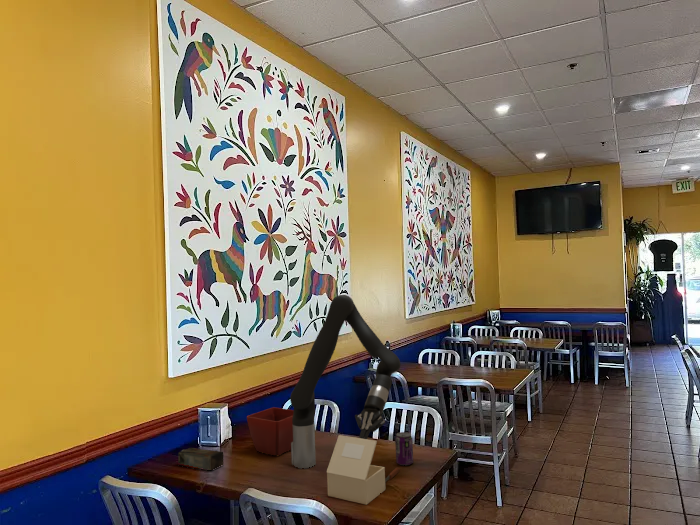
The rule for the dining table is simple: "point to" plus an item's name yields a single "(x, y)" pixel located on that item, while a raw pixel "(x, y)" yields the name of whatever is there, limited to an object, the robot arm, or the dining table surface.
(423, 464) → the dining table surface
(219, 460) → the dark brown block
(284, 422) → the plant pot
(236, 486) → the dining table surface
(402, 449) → the beverage can
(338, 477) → the cardboard box
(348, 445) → the box lid
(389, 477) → the screwdriver
